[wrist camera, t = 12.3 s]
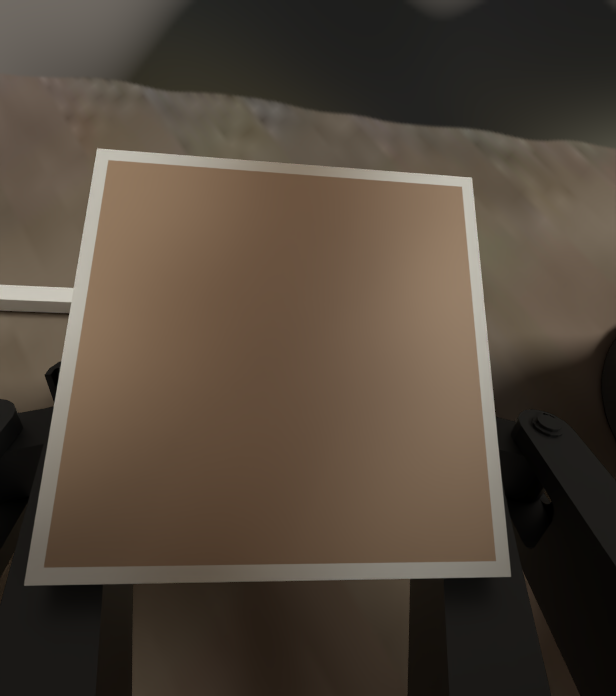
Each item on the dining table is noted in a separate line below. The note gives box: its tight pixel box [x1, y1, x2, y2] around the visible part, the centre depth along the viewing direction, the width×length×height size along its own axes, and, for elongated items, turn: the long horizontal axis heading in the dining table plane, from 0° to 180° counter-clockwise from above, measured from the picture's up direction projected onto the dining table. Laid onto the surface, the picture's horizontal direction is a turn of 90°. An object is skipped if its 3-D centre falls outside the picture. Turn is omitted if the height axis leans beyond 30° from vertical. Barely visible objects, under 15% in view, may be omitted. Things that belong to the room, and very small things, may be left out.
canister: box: [24, 149, 511, 586], centre depth 12 cm, size 6×6×13 cm
